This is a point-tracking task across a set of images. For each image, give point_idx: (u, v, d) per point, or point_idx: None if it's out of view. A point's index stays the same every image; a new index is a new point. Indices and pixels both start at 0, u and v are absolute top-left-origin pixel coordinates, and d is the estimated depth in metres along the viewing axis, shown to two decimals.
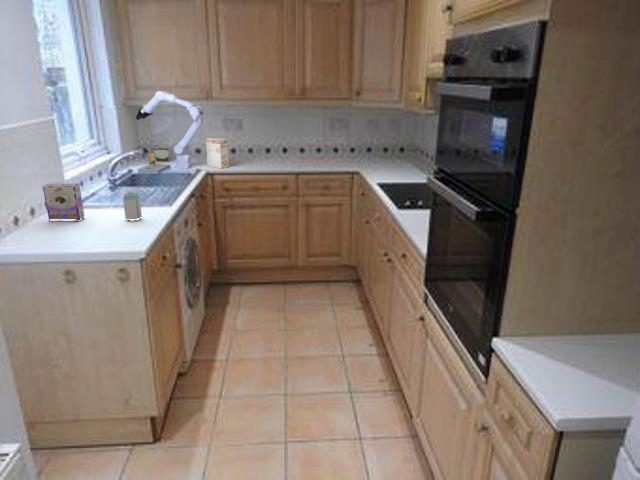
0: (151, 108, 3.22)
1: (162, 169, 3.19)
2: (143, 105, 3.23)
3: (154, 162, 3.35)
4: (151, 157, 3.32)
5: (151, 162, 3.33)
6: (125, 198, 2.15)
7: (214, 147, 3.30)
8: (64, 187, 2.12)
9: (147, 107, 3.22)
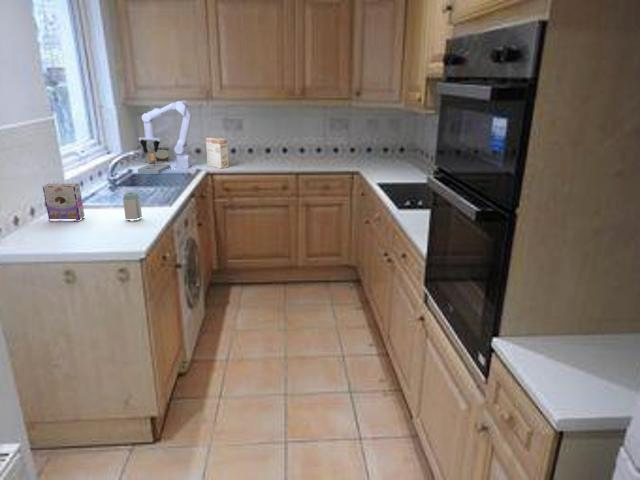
0: None
1: (162, 169, 3.19)
2: (148, 139, 3.26)
3: (154, 162, 3.35)
4: (151, 157, 3.32)
5: (151, 162, 3.33)
6: (125, 198, 2.15)
7: (214, 147, 3.30)
8: (64, 187, 2.12)
9: (152, 135, 3.28)
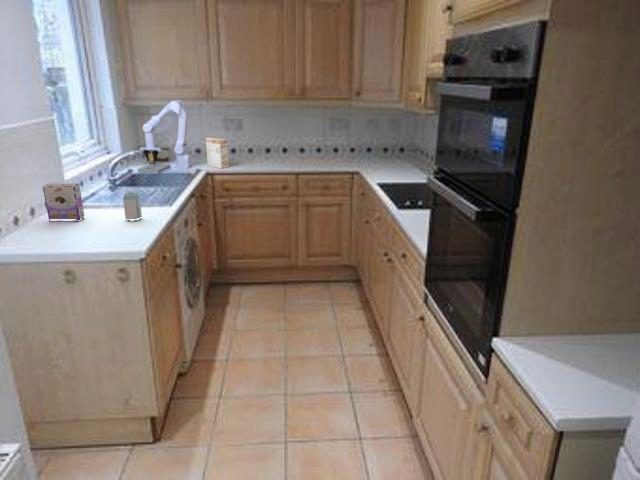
0: None
1: (162, 169, 3.19)
2: (149, 149, 3.28)
3: (154, 162, 3.35)
4: (151, 157, 3.32)
5: (151, 162, 3.33)
6: (125, 198, 2.15)
7: (214, 147, 3.30)
8: (64, 187, 2.12)
9: (153, 145, 3.30)
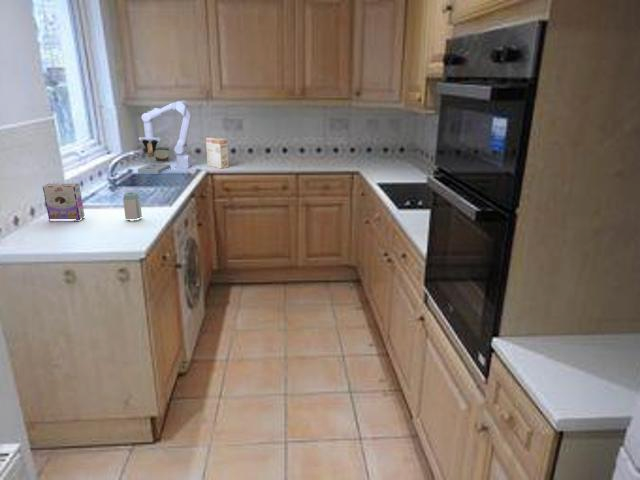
0: None
1: (162, 169, 3.19)
2: (148, 138, 3.26)
3: (153, 152, 3.32)
4: (150, 147, 3.30)
5: (150, 152, 3.31)
6: (125, 198, 2.15)
7: (214, 147, 3.30)
8: (64, 187, 2.12)
9: (152, 135, 3.28)
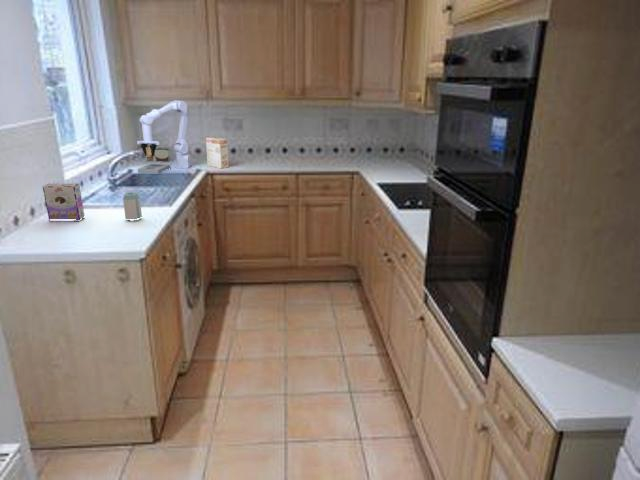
0: None
1: (162, 169, 3.19)
2: (147, 142, 3.10)
3: (152, 156, 3.16)
4: (149, 151, 3.14)
5: (149, 156, 3.15)
6: (125, 198, 2.15)
7: (214, 147, 3.30)
8: (64, 187, 2.12)
9: (151, 138, 3.12)
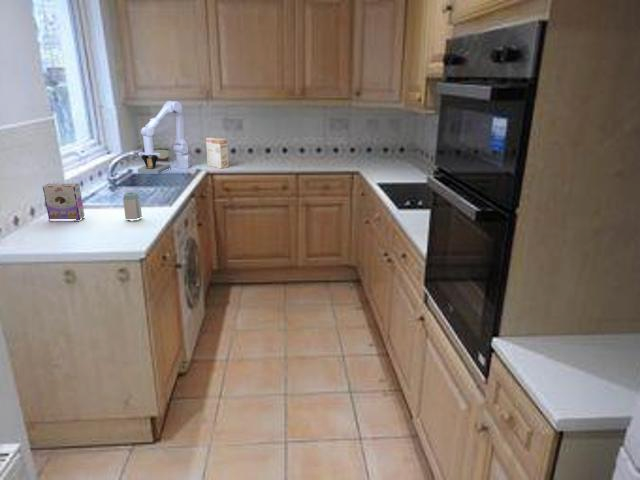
0: None
1: (162, 169, 3.19)
2: (148, 154, 3.11)
3: (153, 167, 3.17)
4: (150, 162, 3.15)
5: (150, 168, 3.16)
6: (125, 198, 2.15)
7: (214, 147, 3.30)
8: (64, 187, 2.12)
9: (152, 150, 3.13)
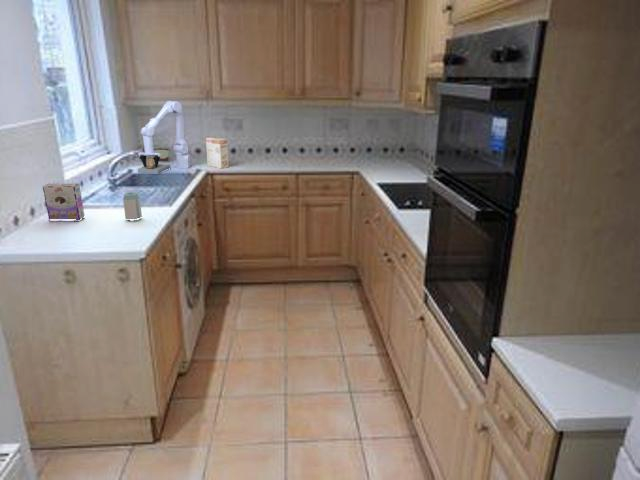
0: None
1: (162, 169, 3.19)
2: (148, 154, 3.11)
3: (153, 167, 3.17)
4: (150, 162, 3.15)
5: (150, 167, 3.16)
6: (125, 198, 2.15)
7: (214, 147, 3.30)
8: (64, 187, 2.12)
9: (152, 150, 3.13)
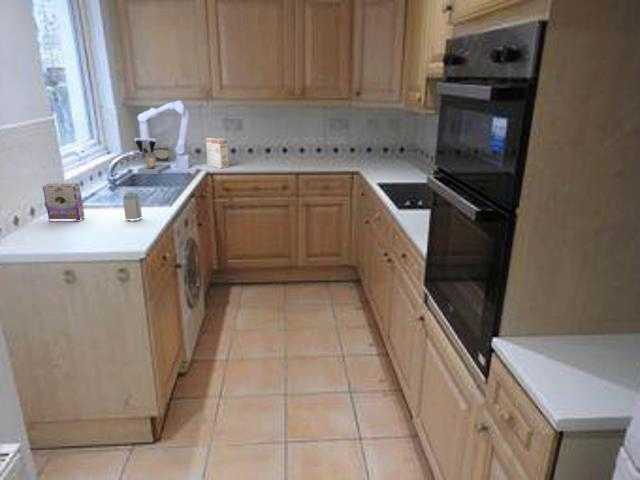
0: None
1: (162, 169, 3.19)
2: (144, 139, 3.23)
3: (153, 167, 3.17)
4: (150, 162, 3.15)
5: (150, 167, 3.16)
6: (125, 198, 2.15)
7: (214, 147, 3.30)
8: (64, 187, 2.12)
9: (148, 136, 3.25)
